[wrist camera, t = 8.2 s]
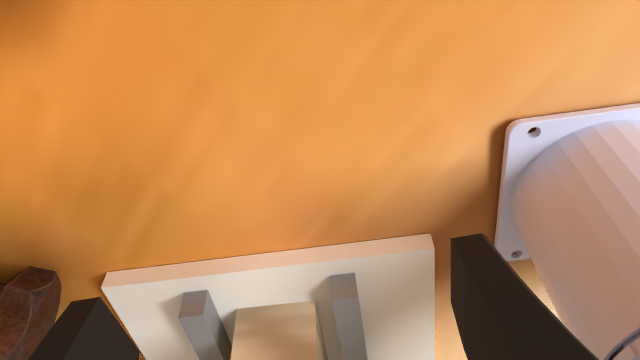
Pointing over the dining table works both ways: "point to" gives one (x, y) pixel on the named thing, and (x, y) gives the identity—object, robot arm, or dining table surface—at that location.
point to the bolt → (27, 312)
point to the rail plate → (287, 299)
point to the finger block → (278, 333)
